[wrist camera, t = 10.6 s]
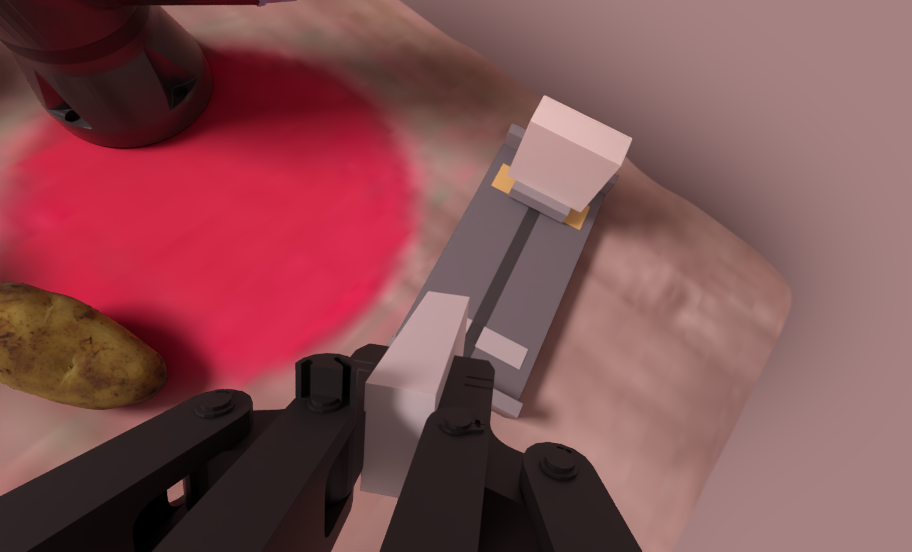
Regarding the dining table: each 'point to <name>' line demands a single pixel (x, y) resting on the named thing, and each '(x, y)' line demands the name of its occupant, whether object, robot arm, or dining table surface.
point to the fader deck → (509, 274)
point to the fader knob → (564, 160)
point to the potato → (72, 352)
